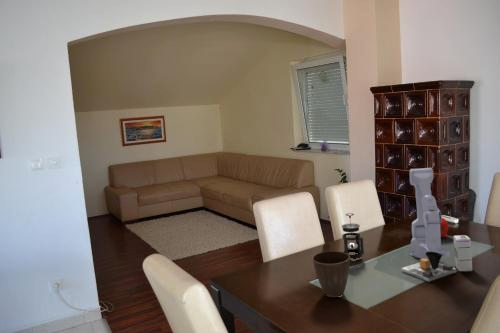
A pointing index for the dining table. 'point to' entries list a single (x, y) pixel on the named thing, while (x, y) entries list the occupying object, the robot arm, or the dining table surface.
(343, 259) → the plant pot
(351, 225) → the french press
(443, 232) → the tomato
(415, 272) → the breaker panel
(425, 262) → the yellow rounded piece
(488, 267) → the dining table surface
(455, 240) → the white segmented block tower
